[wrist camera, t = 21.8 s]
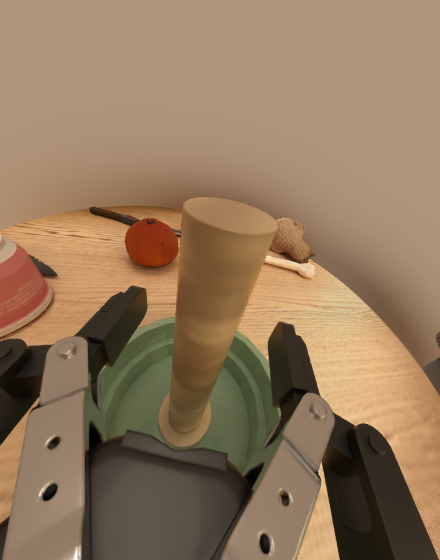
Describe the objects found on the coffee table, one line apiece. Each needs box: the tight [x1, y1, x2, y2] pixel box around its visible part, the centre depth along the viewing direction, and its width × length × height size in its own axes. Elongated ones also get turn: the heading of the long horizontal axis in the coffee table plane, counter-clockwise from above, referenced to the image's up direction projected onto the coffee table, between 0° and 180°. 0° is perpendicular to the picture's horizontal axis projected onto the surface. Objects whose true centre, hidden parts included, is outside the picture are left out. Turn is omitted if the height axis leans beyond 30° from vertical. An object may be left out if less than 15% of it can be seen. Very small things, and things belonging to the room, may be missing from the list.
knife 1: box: [29, 255, 57, 276], centre depth 26 cm, size 17×2×5 cm
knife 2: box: [90, 207, 181, 235], centre depth 45 cm, size 3×2×30 cm
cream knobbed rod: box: [264, 256, 315, 278], centre depth 40 cm, size 28×4×3 cm, turn 83°
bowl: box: [100, 317, 281, 473], centre depth 15 cm, size 14×14×6 cm
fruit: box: [125, 218, 179, 267], centre depth 32 cm, size 9×9×8 cm
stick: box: [158, 197, 278, 450], centre depth 11 cm, size 4×4×18 cm
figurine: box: [270, 217, 315, 263], centre depth 46 cm, size 9×10×15 cm
